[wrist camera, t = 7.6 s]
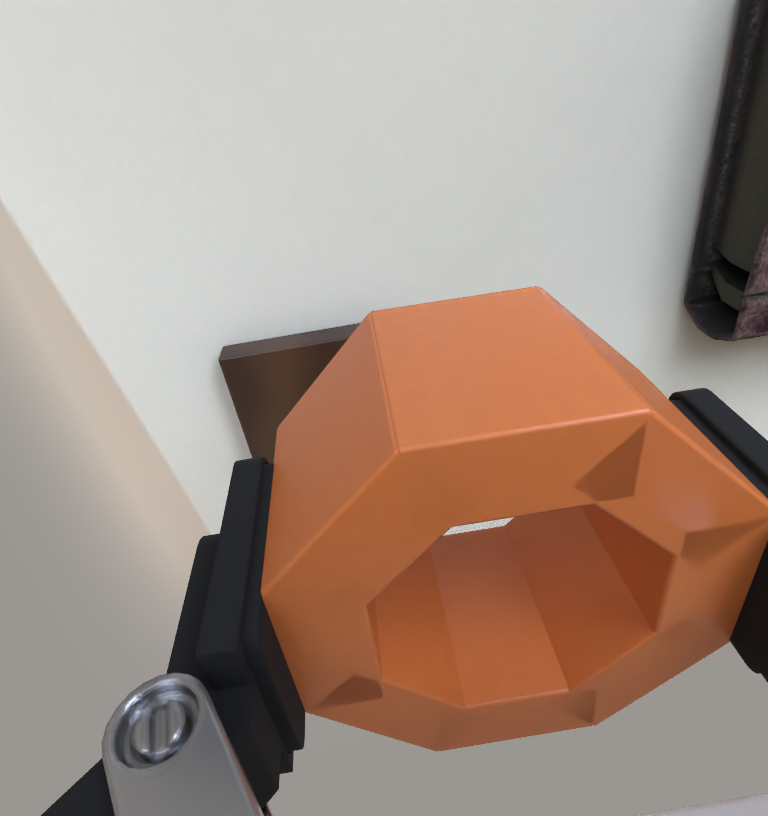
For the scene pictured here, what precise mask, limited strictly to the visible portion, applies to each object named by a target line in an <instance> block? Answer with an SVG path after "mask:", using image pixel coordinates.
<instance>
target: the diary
mask: <svg viewBox="0 0 768 816" xmlns="http://www.w3.org/2000/svg"><path fill="white" fill-rule="evenodd" d="M684 305H685V307H686V309H687V311H688V313H689V314H690V316H691V318H692V319H693V321H694V323H695V324H696V326H697V328H698V329H700V330H701V331H702V332H704V333H705V334H706V335H708V336H709V337H710V338H712V339H714V340H724V341H736V340H742V339H748V338H754V337H760V336H765V335H768V0H742V3H741V9H740V14H739V19H738V24H737V29H736V35H735V40H734V45H733V50H732V55H731V61H730V66H729V71H728V76H727V81H726V86H725V92H724V97H723V102H722V107H721V112H720V118H719V123H718V128H717V133H716V138H715V144H714V149H713V154H712V159H711V164H710V170H709V175H708V180H707V185H706V190H705V196H704V201H703V206H702V211H701V216H700V221H699V227H698V232H697V237H696V242H695V247H694V253H693V258H692V268H691V269H690V273H689V279H688V284H687V289H686V294H685V299H684Z"/></svg>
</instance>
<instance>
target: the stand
mask: <svg viewBox="0 0 768 816" xmlns="http://www.w3.org/2000/svg"><path fill="white" fill-rule="evenodd" d="M360 324H361V323H358V324H353V325H347V326H341V327H335V328H329V329H323V330H317V331H311V332H306V333H300V334H294V335H288V336H282V337H276V338H270V339H264V340H258V341H253V342H247V343H241V344H235V345H229V346H224V347H223V348H222V351H221V354H220V357H219V363H220V366H221V369H222V372H223V375H224V378H225V380H226V383H227V386H228V389H229V392H230V395H231V398H232V400H233V403H234V406H235V409H236V412H237V415H238V418H239V421H240V423H241V426H242V429H243V432H244V435H245V438H246V441H247V444H248V446H249V449H250V452H251V455H252V458H259V457H266V459H267V460H268V463H274V454H275V445H276V436H277V429H278V426H279V425H280V424H281V423H282V421H283V420H284V419H285V418H286V416H287V415H288V414H289V413H290V411H291V410H292V409H293V408H294V406H295V405H296V404H297V403H298V401H299V400H300V399H301V398H302V396H303V395H304V394H305V393H306V391H307V390H308V389H309V388H310V386H311V385H312V384H313V383H314V381H315V380H316V379H317V378H318V376H319V375H320V374H321V373H322V371H323V370H324V369H325V367H326V366H327V365H328V364H329V362H330V361H331V360H332V359H333V357H334V356H335V355H336V354H337V352H338V351H339V350H340V349H341V347H342V346H343V345H344V344H345V342H346V341H347V340H348V339H349V337H350V336H351V335H352V334H353V332H354V331H355V330H356V329H357V327H358V326H359V325H360Z"/></svg>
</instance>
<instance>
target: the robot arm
mask: <svg viewBox="0 0 768 816" xmlns="http://www.w3.org/2000/svg"><path fill="white" fill-rule="evenodd" d="M669 400H670V401H671V402H672V403H673V404H674V405H675V406H676V407H677V408H678V409H679V410H680V412H681V413H682V414H683V415H684V416H685V417H686V418H687V419H688V420H689V421H690V422H691V423H692V424H693V425H694V426H695V427H696V428H697V429H698V430H699V431H700V432H701V433H702V434H703V435H704V436H705V437H706V438H707V439H708V440H709V441H710V442H711V443H712V444H713V445H714V446H715V447H716V448H717V449H718V450H719V451H720V452H721V453H722V454H723V455H724V456H725V457H726V458H727V459H728V460H729V461H730V462H731V463H732V464H733V465H734V466H735V467H736V468H737V469H738V470H739V471H740V472H741V473H742V474H743V475H744V476H745V477H746V478H747V479H748V480H749V481H750V482H751V483H752V484H753V485H754V486H755V487H756V488H757V489H758V490H759V491H760V492H761V493H762V494H763V495H764V496H765V497H766V498H767V499H768V441H767V440H766V439H765V438H764V437H763V436H762V435H760V434H759V433H758V432H757V431H756V430H755V429H754V428H752V427H751V426H750V425H749V424H748V423H747V422H746V421H744V420H743V419H742V418H741V417H740V416H739V415H738V414H736V413H735V412H734V411H733V410H732V409H731V408H730V407H728V406H727V405H726V404H725V403H724V402H723V401H722V400H720V399H719V398H718V397H717V396H716V395H715V394H714V393H712V392H711V391H710V390H708V389H706V388H700V389H693V390H687V391H681V392H675V393H673V394H672V395H671V396H670V397H669ZM273 471H274V463H268V460H267V459H266V457H259V458H252V459H246V460H240V461H236V462H235V463H234V466H233V471H232V476H231V481H230V486H229V491H228V496H227V501H226V506H225V511H224V516H223V521H222V526H221V531H220V534H215V535H208V536H203V537H202V538H201V539H200V541H199V544H198V547H197V550H196V554H195V559H194V563H193V567H192V571H191V575H190V579H189V583H188V588H187V591H186V596H185V600H184V604H183V608H182V612H181V616H180V620H179V624H178V629H177V633H176V637H175V641H174V646H173V649H172V653H171V657H170V662H169V666H168V670H167V674H165V675H160V676H158V677H155V678H153V679H151V680H149V681H147V682H145V683H143V684H142V685H140V686H139V687H138V688H136V689H135V690H134V691H132V692H131V693H130V694H129V695H128V696H127V697H126V698H125V699H124V700H123V701H122V702H121V704H120V705H119V706H118V707H117V708H116V710H115V711H114V713H113V715H112V717H111V718H110V720H109V722H108V724H107V726H106V729H105V733H104V736H103V740H102V759H101V760H100V761H99V762H98V763H96V764H95V765H94V766H93V767H92V768H91V769H90V770H89V771H88V772H87V773H86V774H85V775H84V776H83V777H82V778H80V780H79V781H77V782H76V783H75V784H74V785H73V786H72V787H71V788H70V789H69V790H68V791H67V792H65V793H64V794H63V795H62V796H61V797H60V798H59V799H58V800H57V801H56V802H55V803H54V804H53V805H52V806H51V807H50V808H48V809H47V810H46V811H45V812H44V813H43V814H42V815H41V816H273V814H272V812H271V810H270V807H269V805H268V801H269V800H270V799H271V798H272V796H273V795H274V794H275V793H276V792H277V790H278V789H279V775H280V774H282V773H288V772H292V771H293V751H294V750H300V749H303V747H304V738H305V709H304V707H303V704H302V701H301V699H300V696H299V693H298V691H297V688H296V685H295V683H294V680H293V678H292V675H291V672H290V670H289V667H288V664H287V662H286V659H285V657H284V654H283V651H282V649H281V646H280V643H279V641H278V638H277V636H276V633H275V630H274V628H273V625H272V622H271V620H270V617H269V615H268V612H267V609H266V607H265V604H264V601H263V598H262V594H261V584H262V574H263V565H264V556H265V546H266V537H267V527H268V518H269V508H270V499H271V490H272V480H273ZM729 640H730V642H731V643H732V645H733V646H734V647H735V649H736V650H737V652H738V653H739V655H740V656H741V657H742V659H743V660H744V662H745V663H746V665H747V666H748V667H749V668H750V669H751V670H752V671H754V672H755V673H761V674H762V675H763V677H764V678H765V679H766V681H767V682H768V541H767V544H766V547H765V549H764V552H763V554H762V557H761V560H760V562H759V565H758V567H757V570H756V573H755V575H754V578H753V580H752V583H751V586H750V588H749V591H748V593H747V596H746V599H745V601H744V604H743V606H742V609H741V611H740V614H739V617H738V619H737V622H736V624H735V627H734V630H733V632H732V635H731V637H730V639H729ZM636 816H768V793H766V794H760V795H754V796H748V797H742V798H736V799H731V800H724V801H719V802H713V803H707V804H701V805H695V806H689V807H683V808H677V809H671V810H665V811H660V812H654V813H648V814H642V815H636Z"/></svg>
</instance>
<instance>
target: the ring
mask: <svg viewBox="0 0 768 816" xmlns="http://www.w3.org/2000/svg"><path fill="white" fill-rule="evenodd" d="M510 517H514V518H513V519H512V520H511V521H510V522H508V523H507V524H506V525H505V526H501V527H495V528H489V529H483V530H476V531H470V532H464V533H458V534H452V535H445V536H442V535H443V534H445V533H446V532H447V531H448V530H449V529H450V528H451V527H454V526H460V525H466V524H473V523H479V522H485V521H491V520H498V519H504V518H510ZM767 541H768V499H767V498H766V497H765V496H764V495H763V494H762V493H761V492H760V491H759V490H758V489H757V488H756V487H755V486H754V485H753V484H752V483H751V482H750V481H749V480H748V479H747V478H746V477H745V476H744V475H743V474H742V473H741V472H740V471H739V470H738V469H737V468H736V467H735V466H734V465H733V464H732V463H731V462H730V461H729V460H728V459H727V458H726V457H725V456H724V455H723V454H722V453H721V452H720V451H719V450H718V449H717V448H716V447H715V446H714V445H713V444H712V443H711V442H710V441H709V440H708V439H707V438H706V437H705V436H704V435H703V434H702V433H701V432H700V431H699V430H698V429H697V428H696V427H695V426H694V425H693V424H692V423H691V422H690V421H689V420H688V419H687V418H686V417H685V416H684V415H683V414H682V413H681V412H680V410H679V409H678V408H677V407H676V406H675V405H674V404H673V403H672V402H671V401H670V400H669V399H668V398H667V397H666V396H665V395H664V394H663V393H662V392H661V391H660V390H659V389H658V388H657V387H656V386H655V385H654V384H653V383H652V382H651V381H650V380H649V379H648V378H647V377H646V376H645V375H644V374H643V373H642V372H641V371H640V370H638V369H637V368H636V367H635V366H634V365H633V364H631V363H630V362H629V361H628V360H627V359H625V358H624V357H623V356H622V355H621V354H619V353H618V352H617V351H616V350H615V349H614V348H612V347H611V346H610V345H609V344H608V343H606V342H605V341H604V340H603V339H602V338H600V337H599V336H598V335H597V334H596V333H595V332H593V331H592V330H591V329H590V328H589V327H587V326H586V325H585V324H584V323H583V322H581V321H580V320H579V319H578V318H577V317H575V316H574V315H573V314H572V313H571V312H570V311H568V310H567V309H566V308H565V307H564V306H562V305H561V304H560V303H559V302H558V301H556V300H555V299H554V298H553V297H552V296H551V295H549V294H548V293H547V292H546V291H545V290H543V289H542V288H539V287H536V286H535V287H528V288H522V289H515V290H509V291H502V292H496V293H489V294H483V295H476V296H469V297H463V298H456V299H450V300H443V301H437V302H430V303H424V304H417V305H411V306H404V307H398V308H391V309H385V310H378V311H372V312H371V313H369V314H368V315H367V316H366V317H365V319H364V320H363V321H362V322H361V324H360V325H359V326H358V327H357V329H356V330H355V331H354V332H353V334H352V335H351V336H350V337H349V339H348V340H347V341H346V342H345V344H344V345H343V346H342V347H341V349H340V350H339V351H338V352H337V354H336V355H335V356H334V357H333V359H332V360H331V361H330V362H329V364H328V365H327V366H326V367H325V369H324V370H323V371H322V373H321V374H320V375H319V376H318V378H317V379H316V380H315V381H314V383H313V384H312V385H311V386H310V388H309V389H308V390H307V391H306V393H305V394H304V395H303V396H302V398H301V399H300V400H299V401H298V403H297V404H296V405H295V406H294V408H293V409H292V410H291V411H290V413H289V414H288V415H287V416H286V418H285V419H284V420H283V421H282V423H281V424H280V425H279V426H278V429H277V436H276V445H275V454H274V471H273V480H272V490H271V499H270V508H269V518H268V527H267V537H266V546H265V556H264V565H263V574H262V584H261V594H262V598H263V601H264V604H265V607H266V609H267V612H268V615H269V617H270V620H271V622H272V625H273V628H274V630H275V633H276V636H277V638H278V641H279V643H280V646H281V649H282V651H283V654H284V657H285V659H286V662H287V664H288V667H289V670H290V672H291V675H292V678H293V680H294V683H295V685H296V688H297V691H298V693H299V696H300V699H301V701H302V704H303V707H304V709H305V712H307V713H310V714H314V715H317V716H320V717H324V718H327V719H331V720H334V721H337V722H340V723H344V724H347V725H350V726H354V727H357V728H361V729H364V730H367V731H370V732H374V733H377V734H381V735H384V736H388V737H391V738H394V739H397V740H401V741H404V742H407V743H411V744H414V745H418V746H421V747H424V748H427V749H431V750H434V751H443V750H450V749H456V748H461V747H467V746H474V745H479V744H485V743H491V742H497V741H503V740H509V739H515V738H521V737H527V736H533V735H539V734H545V733H551V732H557V731H563V730H569V729H575V728H581V727H587V726H592V725H597V724H599V723H600V722H602V721H604V720H605V719H607V718H608V717H610V716H612V715H613V714H615V713H616V712H618V711H620V710H621V709H623V708H624V707H626V706H627V705H629V704H631V703H632V702H634V701H635V700H637V699H639V698H640V697H642V696H644V695H645V694H647V693H648V692H650V691H652V690H653V689H655V688H656V687H658V686H659V685H661V684H663V683H664V682H666V681H668V680H669V679H671V678H673V677H674V676H676V675H677V674H679V673H680V672H682V671H684V670H685V669H687V668H689V667H690V666H692V665H693V664H695V663H696V662H698V661H700V660H701V659H703V658H705V657H706V656H708V655H709V654H711V653H713V652H714V651H716V650H717V649H719V648H721V647H722V646H724V645H725V644H727V643H729V641H730V640H729V639H730V637H731V635H732V632H733V630H734V627H735V624H736V622H737V619H738V617H739V614H740V611H741V609H742V606H743V604H744V601H745V599H746V596H747V593H748V591H749V588H750V586H751V583H752V580H753V578H754V575H755V573H756V570H757V567H758V565H759V562H760V560H761V557H762V554H763V552H764V549H765V547H766V544H767Z"/></svg>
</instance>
